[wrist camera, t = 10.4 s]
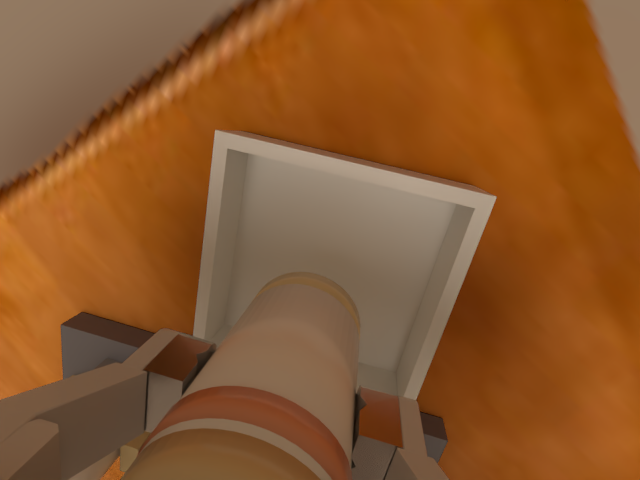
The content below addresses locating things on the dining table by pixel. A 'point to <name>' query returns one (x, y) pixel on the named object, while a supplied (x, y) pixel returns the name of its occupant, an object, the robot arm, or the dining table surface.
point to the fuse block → (122, 341)
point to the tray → (339, 245)
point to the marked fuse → (268, 394)
